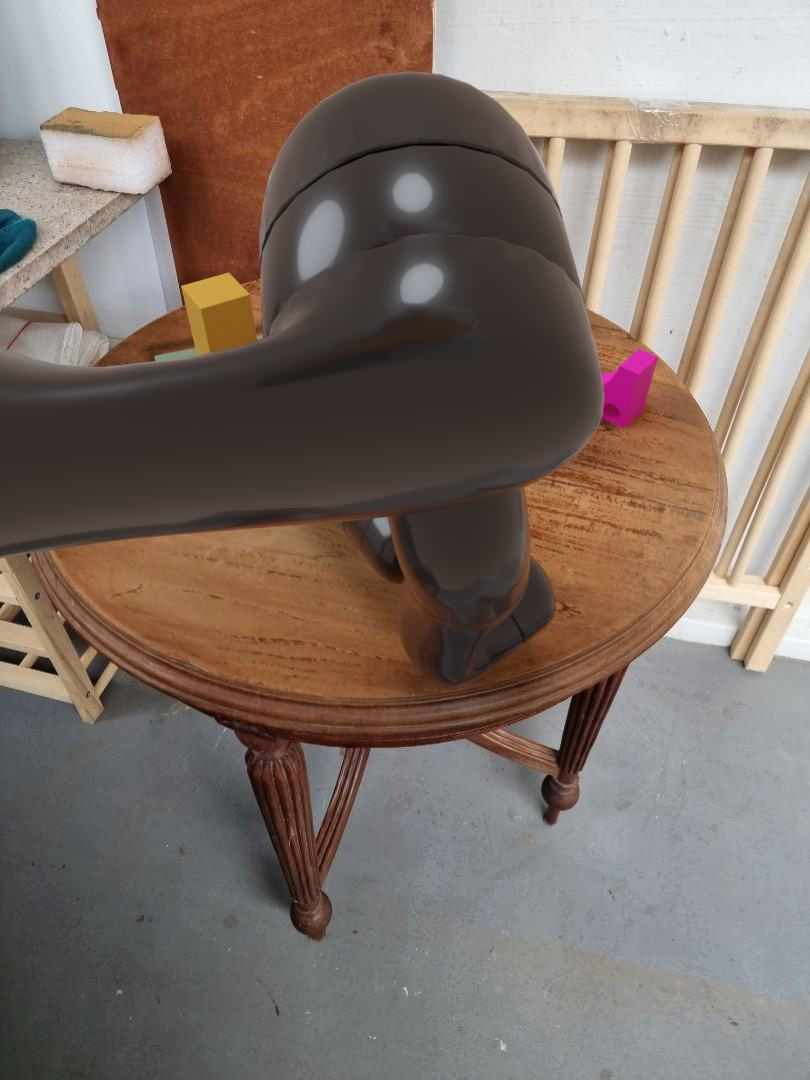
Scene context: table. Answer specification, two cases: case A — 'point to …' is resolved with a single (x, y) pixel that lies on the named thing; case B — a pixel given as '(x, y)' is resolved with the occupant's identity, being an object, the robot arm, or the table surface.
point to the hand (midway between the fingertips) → (260, 366)
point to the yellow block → (219, 314)
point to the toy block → (628, 388)
